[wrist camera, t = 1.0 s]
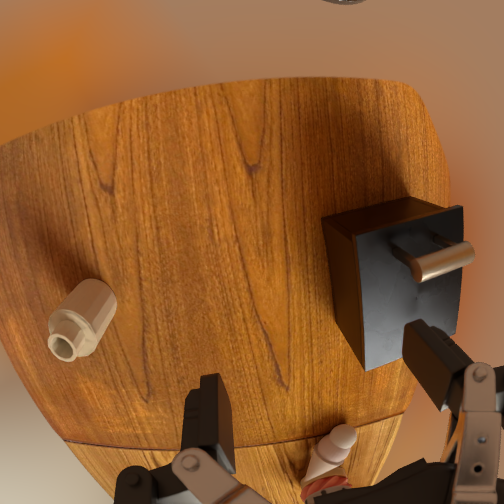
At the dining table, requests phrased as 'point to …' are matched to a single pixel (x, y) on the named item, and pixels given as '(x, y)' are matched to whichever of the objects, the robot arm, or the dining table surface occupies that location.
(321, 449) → the ice cream cone
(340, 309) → the bin
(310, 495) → the cake
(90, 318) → the bottle
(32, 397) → the dining table surface
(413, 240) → the bin lid
